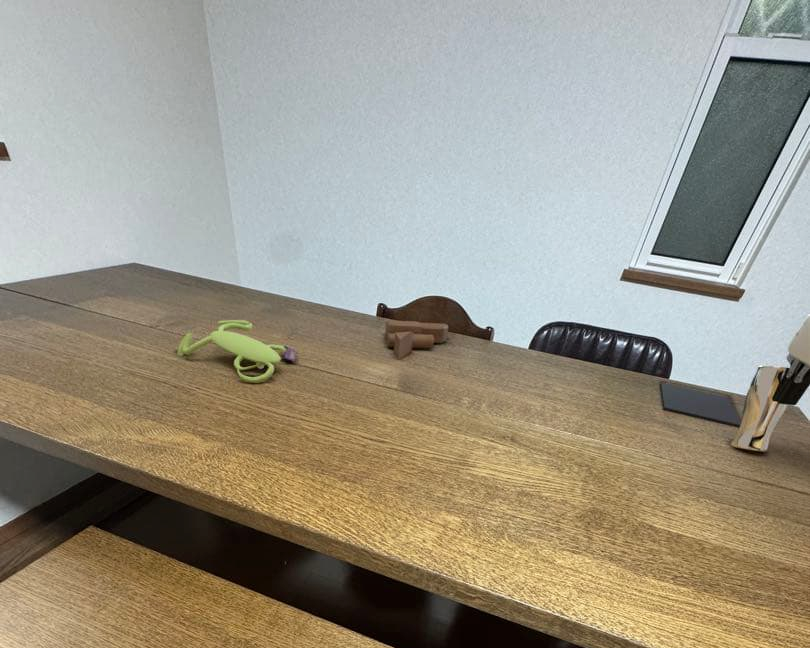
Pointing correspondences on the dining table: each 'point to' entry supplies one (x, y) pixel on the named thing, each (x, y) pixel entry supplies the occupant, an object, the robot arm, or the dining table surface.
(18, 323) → the dining table surface
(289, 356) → the figurine
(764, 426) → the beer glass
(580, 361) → the dining table surface
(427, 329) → the wooden block set
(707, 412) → the mat
